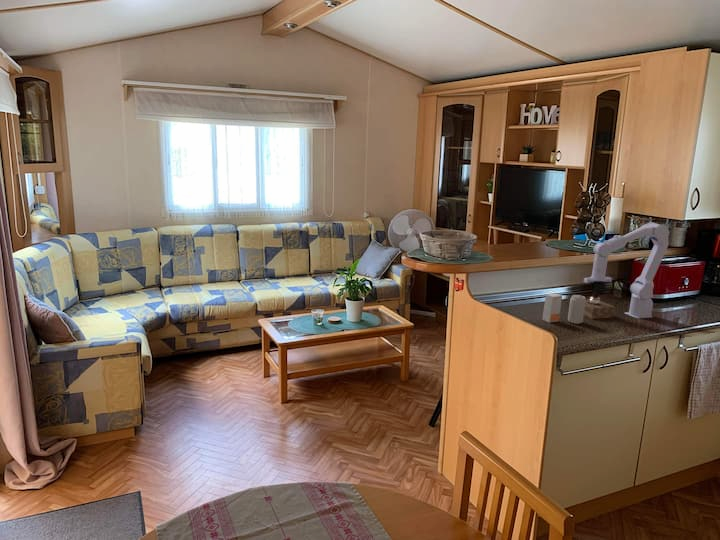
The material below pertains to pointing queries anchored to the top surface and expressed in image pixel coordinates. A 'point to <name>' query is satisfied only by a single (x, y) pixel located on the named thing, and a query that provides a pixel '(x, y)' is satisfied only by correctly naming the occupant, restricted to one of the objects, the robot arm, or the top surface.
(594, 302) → the peg
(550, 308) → the skincare box
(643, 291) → the robot arm
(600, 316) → the band block
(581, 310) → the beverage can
